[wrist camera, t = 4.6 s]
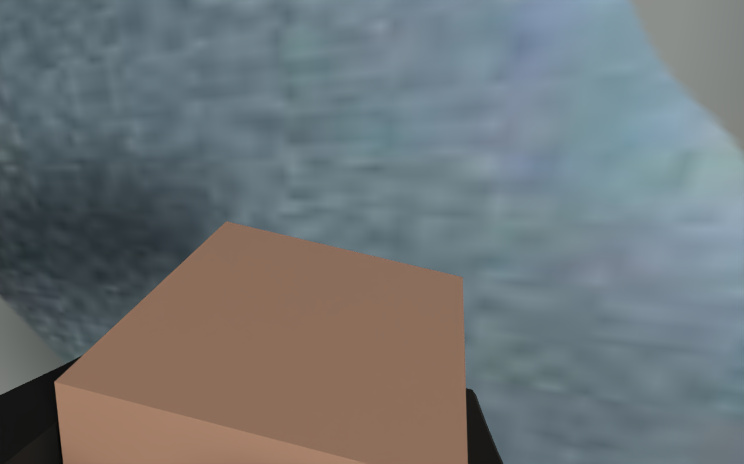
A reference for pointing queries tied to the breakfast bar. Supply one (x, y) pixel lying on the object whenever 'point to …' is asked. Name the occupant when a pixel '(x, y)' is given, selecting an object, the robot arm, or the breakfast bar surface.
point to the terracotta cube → (275, 363)
